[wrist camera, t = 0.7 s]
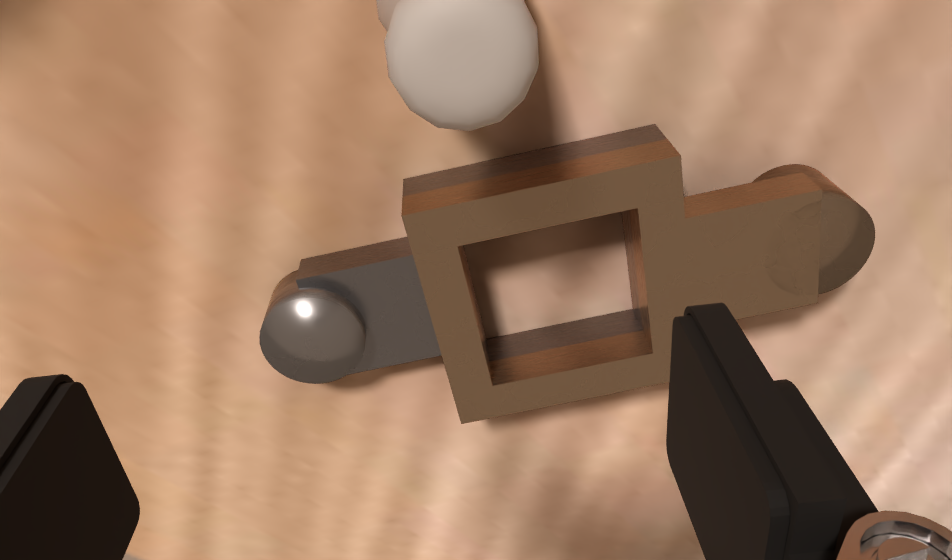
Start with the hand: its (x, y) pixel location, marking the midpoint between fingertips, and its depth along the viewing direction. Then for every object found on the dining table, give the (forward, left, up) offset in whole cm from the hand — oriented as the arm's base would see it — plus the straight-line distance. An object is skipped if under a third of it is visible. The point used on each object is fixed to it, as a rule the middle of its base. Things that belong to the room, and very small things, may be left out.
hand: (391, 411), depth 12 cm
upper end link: (-9, +12, -24) cm, 28 cm away
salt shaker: (-2, -2, -24) cm, 24 cm away
